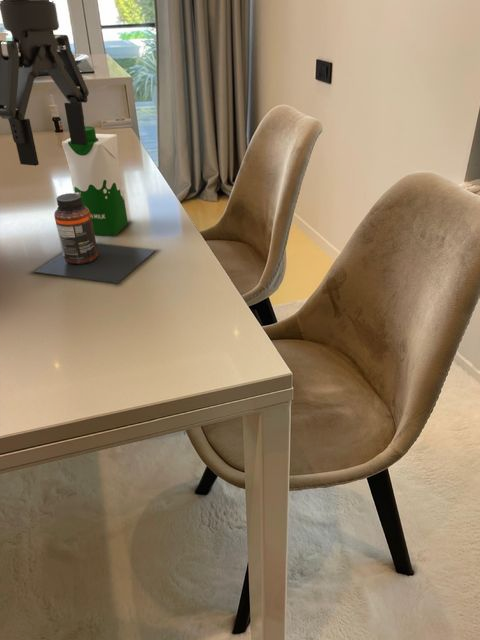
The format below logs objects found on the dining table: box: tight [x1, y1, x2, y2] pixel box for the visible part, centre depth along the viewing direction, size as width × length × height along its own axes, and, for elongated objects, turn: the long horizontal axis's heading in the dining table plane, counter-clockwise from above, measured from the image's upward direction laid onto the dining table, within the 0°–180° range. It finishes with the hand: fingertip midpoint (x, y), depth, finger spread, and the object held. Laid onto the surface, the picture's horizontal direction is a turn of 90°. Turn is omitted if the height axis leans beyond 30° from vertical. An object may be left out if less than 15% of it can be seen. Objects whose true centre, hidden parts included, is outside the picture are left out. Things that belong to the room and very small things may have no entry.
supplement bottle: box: [54, 192, 98, 264], centre depth 97 cm, size 6×6×11 cm
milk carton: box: [61, 125, 129, 237], centre depth 108 cm, size 9×9×20 cm
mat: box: [34, 243, 156, 285], centre depth 99 cm, size 16×14×1 cm
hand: (56, 154), depth 90 cm, fingers open, 13 cm apart
